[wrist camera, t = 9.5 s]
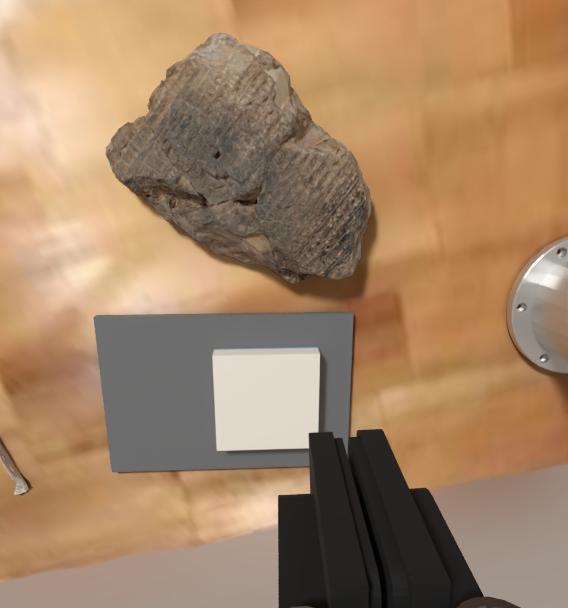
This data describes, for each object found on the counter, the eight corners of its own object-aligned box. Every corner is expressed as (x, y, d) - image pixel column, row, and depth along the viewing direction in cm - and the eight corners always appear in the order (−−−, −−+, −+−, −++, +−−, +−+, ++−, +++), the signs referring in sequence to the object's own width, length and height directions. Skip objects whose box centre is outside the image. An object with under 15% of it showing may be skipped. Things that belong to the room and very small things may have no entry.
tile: (214, 348, 37) (317, 346, 38) (218, 440, 39) (315, 438, 40) (212, 355, 36) (320, 353, 36) (216, 450, 38) (317, 447, 38)
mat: (352, 311, 37) (353, 313, 37) (345, 461, 41) (347, 465, 41) (96, 315, 36) (93, 317, 36) (114, 468, 40) (112, 472, 40)
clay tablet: (406, 202, 36) (221, 13, 31) (427, 206, 31) (213, -16, 27) (292, 321, 38) (106, 163, 34) (296, 342, 34) (81, 161, 29)
